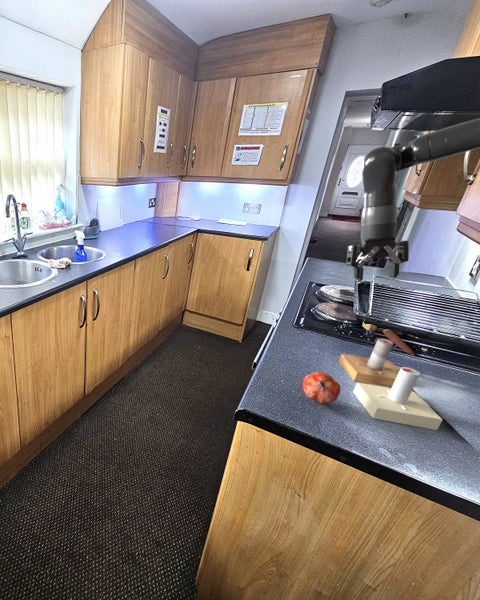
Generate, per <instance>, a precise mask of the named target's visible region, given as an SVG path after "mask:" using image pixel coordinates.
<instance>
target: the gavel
mask: <svg viewBox="0 0 480 600" xmlns="http://www.w3.org/2000/svg"><path fill="white" fill-rule="evenodd" d="M362 327H363V328H364V330H366V331H368V332H378V333H379V332H380V333H383V334H384V336H385V337H386V338H387V339H388V340H389V341H391V342H393V344H395V345H396V346H397V347H399V348H400V349H401V350H402V351H404V352H405V353H407V354H409V355H411V356H415V351H414V350H412V348H411V347H410V346H409V345H408V344H407V343H406V342H405V341H404V340H403V339H402V338H401V337H399V335H400V336H401V335H403V334H404V333H401V332H398V331H395V330H391V329H390V330H389V329H383V328H377V326H375V325H372V324H365V323H364V321H363V322H362Z"/></svg>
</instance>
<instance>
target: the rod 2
mask: <svg viewBox="0 0 480 600" xmlns="http://www.w3.org/2000/svg"><path fill="white" fill-rule="evenodd" d="M399 370H400V371H399V373H398V376H397V378H396V380H395V382H394V384H393V386H392V387H390V388H391V391H390V393H389V395H388V398H389V399H390V400H392V401H394V402H396V403H400V404H405V403H406V402H407V400H408V398H409V396H410V394H411V392H413V389H414V387H415V386H416V383H417V381H418V379H419V378H420V376H421V373H420V372H419V371H418V370H416V369H414V368H411V367H408V366H407V367H406V366H402V367H401V368H399Z"/></svg>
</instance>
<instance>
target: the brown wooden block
mask: <svg viewBox="0 0 480 600" xmlns="http://www.w3.org/2000/svg"><path fill="white" fill-rule="evenodd" d="M369 359H370V357H365V356H359V355H358V356H356V355H351V354H343V353H341V355H340V357H339V358H338V362H339V364H340V365H341V366H342V368H343V369H344V371H345V372H346V373H347V375H348V376H349V378H350V379H351V381H352V382H354V383H363V384H369V385H375V386H381V387H387V388H392V386H393V384H394V382H395V380H396V378H397V376H398V373H399V371H400V368H399V367H398V366H396V364H394V363H393V362H392V361H391V360H386V362H385V364H384V366H383V368H382V370H376V369H373V368H371V367H369V366H368V365H367V363H368V361H369Z"/></svg>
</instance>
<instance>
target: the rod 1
mask: <svg viewBox="0 0 480 600" xmlns="http://www.w3.org/2000/svg"><path fill="white" fill-rule="evenodd" d="M393 346H394V343H393V342H392V341H391V340H390V339H386V338H381V337H380V338H377V339H376V342H375V344H374V347H373V349H372V352H371V354H370V357H369V358H370V359H369V361H368V363H367V365H368V366H369V367H371V368H373V369H376V370H382V368H383V366H384V364H385V362H386V361H387V359H388V357H389V355H390V353H391V350H392V348H393Z"/></svg>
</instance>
